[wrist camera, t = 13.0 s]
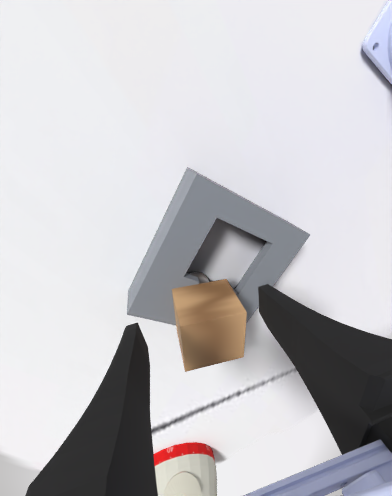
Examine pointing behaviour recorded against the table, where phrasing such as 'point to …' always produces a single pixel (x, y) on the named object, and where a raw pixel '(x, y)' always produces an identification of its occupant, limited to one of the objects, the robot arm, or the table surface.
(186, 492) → the kitchen timer
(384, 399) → the robot arm
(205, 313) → the peg
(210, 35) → the table surface
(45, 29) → the table surface
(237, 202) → the square hole plate
